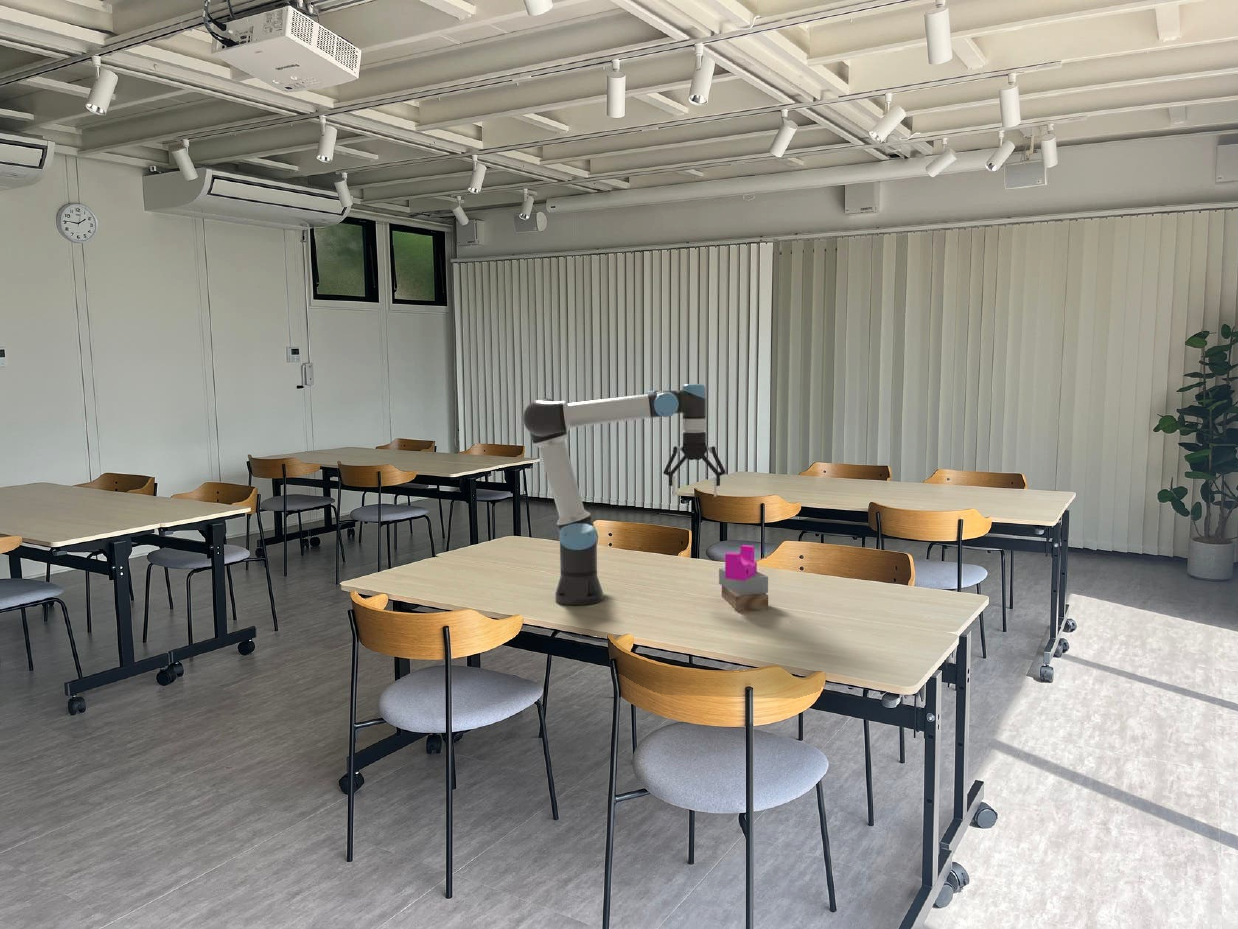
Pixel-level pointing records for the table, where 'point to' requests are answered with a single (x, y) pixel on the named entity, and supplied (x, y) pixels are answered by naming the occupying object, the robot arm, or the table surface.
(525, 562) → the table surface
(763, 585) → the tower top
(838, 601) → the table surface
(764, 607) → the tower base
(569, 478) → the robot arm
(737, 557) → the toy block
